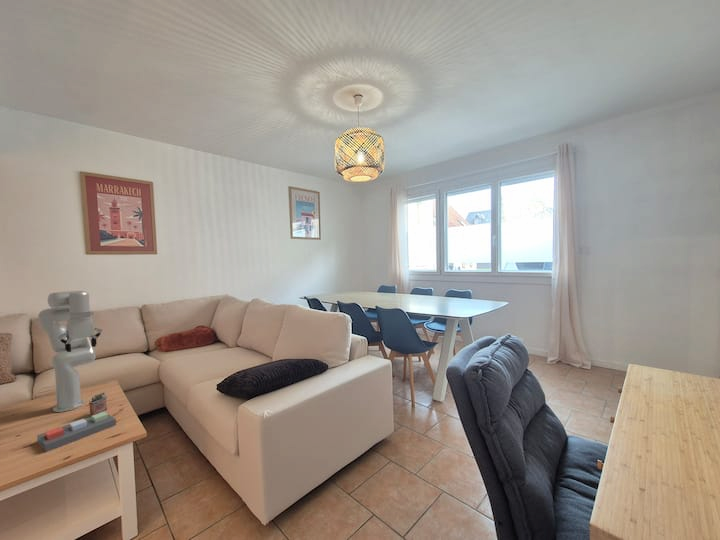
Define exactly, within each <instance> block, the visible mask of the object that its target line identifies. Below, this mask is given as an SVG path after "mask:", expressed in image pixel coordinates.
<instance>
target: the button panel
mask: <svg viewBox="0 0 720 540" xmlns="http://www.w3.org/2000/svg"><path fill="white" fill-rule="evenodd" d="M107 414H108V419H105V420H102V421H99V422H97V423H94V422H93V421H92V416H91V417H90V416H89V417H86V418H83V419H84V420H86V421H87V426H86V427H83V428H80V429H77V430H75V431H71V430H70V429H69V424H70V423H69V424H66V425H63V426H60V427H61V428H62V429H63V430H64V435H61V436H58V437H56V438H53V439H50V440H46V439H45V432H43V433H40V434H37V435H36V438H37V443H38V445H40V447H41V448H42V449H43V450H44V451H45V452H46V453H47V452H50V451H52V450H55V449H57V448H60V447H62V446H65V445H68V444H70V443H72V442H76V441H79V440H81V439H84V438H86V437H89V436H91V435H94V434H96V433H99V432H102V431H104V430H106V429H109V428H112V427H115V426H116V425H117V419H116V418H115V417H113V416H112V415H111V414H109V413H107ZM114 425H115V426H114Z"/></svg>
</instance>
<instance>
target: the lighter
mask: <svg viewBox="0 0 720 540" xmlns="http://www.w3.org/2000/svg"><path fill="white" fill-rule="evenodd" d="M107 398H108V396H107V395H106V392H101V393H99V394H95V395H94V396H92V397H91V401H89V402H88V404H89V417H91V416H93V415H96V414H99V413H101V412H104V411H105V412H107V411H108V406H107V405H108V402H107ZM106 410H107V411H106Z"/></svg>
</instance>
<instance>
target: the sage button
mask: <svg viewBox="0 0 720 540" xmlns="http://www.w3.org/2000/svg"><path fill="white" fill-rule="evenodd" d="M108 414H109V413H107V411H105V412H101V413H99V414H96V415H93V416H92V421H93V422H94V423H97V422H99V421H102V420H105V419H108Z"/></svg>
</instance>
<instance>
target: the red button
mask: <svg viewBox="0 0 720 540" xmlns="http://www.w3.org/2000/svg"><path fill="white" fill-rule="evenodd" d="M61 427H62V426H59V427H56V428H55V427H54V428H53V429H50V430H47V431H44V433H45V439H46V440H50V439H53V438H56V437H58V436H61V435H64V430H63V429H62V428H61Z"/></svg>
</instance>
